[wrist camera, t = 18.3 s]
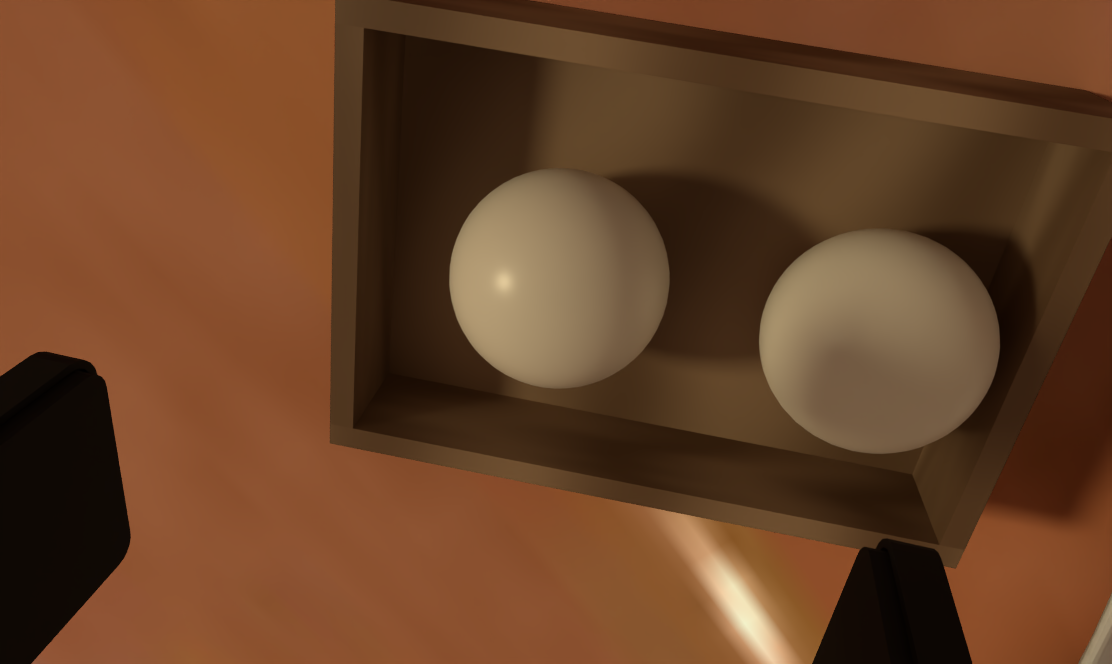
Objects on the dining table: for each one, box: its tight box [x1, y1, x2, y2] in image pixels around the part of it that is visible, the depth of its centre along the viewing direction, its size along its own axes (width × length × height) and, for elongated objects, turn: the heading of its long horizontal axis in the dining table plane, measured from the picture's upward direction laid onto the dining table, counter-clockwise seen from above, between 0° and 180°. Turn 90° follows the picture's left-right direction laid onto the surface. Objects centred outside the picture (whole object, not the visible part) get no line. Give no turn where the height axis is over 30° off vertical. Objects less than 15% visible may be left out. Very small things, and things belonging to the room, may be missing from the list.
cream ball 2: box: [759, 228, 1000, 454], centre depth 19 cm, size 5×5×5 cm
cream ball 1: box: [449, 168, 670, 389], centre depth 19 cm, size 5×5×5 cm
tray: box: [330, 0, 1112, 568], centre depth 20 cm, size 16×11×4 cm
